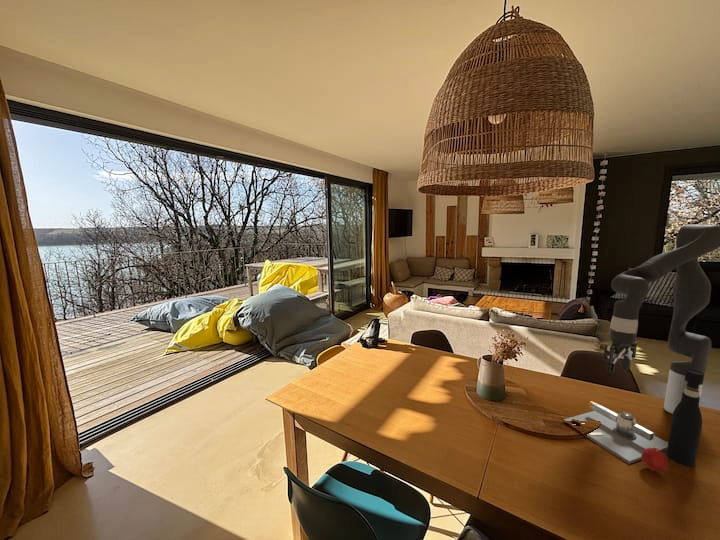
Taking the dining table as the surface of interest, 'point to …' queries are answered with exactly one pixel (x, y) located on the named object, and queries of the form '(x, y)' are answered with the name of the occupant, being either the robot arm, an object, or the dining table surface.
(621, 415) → the silver knobbed bar
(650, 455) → the onion
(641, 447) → the board
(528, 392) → the dining table surface
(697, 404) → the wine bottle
